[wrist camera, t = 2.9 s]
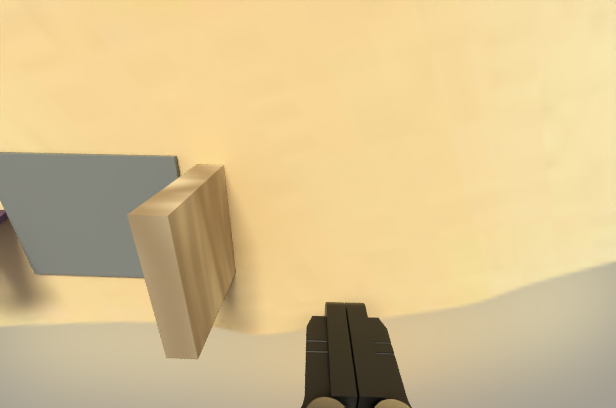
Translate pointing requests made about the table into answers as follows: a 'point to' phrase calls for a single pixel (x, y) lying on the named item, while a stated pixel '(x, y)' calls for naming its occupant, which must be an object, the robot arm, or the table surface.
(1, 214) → the purple toy case
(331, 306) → the robot arm
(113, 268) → the felt mat
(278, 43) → the table surface
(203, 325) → the tile
